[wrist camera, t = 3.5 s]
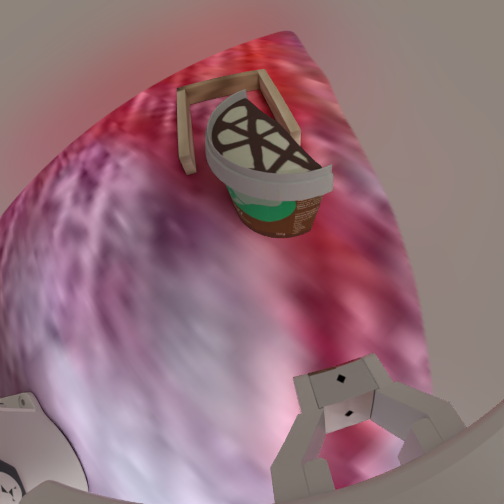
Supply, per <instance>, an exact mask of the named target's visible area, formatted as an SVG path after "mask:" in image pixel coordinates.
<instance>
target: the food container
mask: <svg viewBox="0 0 504 504" xmlns="http://www.w3.org/2000/svg"><path fill="white" fill-rule="evenodd" d="M205 147H206V158H207V162H208V164H209V166H210V168H211V170H212V172H213V173H214V174H215V175H216V176H217V177H218V179H219V180H221V181H222V182H223V183H225V184H226V186H227V189H228V191H229V193H230V196H231V198H232V201H233V203H234V206H235V208H236V210H237V213H238V215H239V217H240V219H241V220H242V221H243V222H244V224H245V225H246V226H248V227H249V228H250V229H251V230H253V231H255V232H256V233H259V234H261V235H264V236H268V237H273V238H289V237H295V236H298V235H301V234H304V233H306V232H308V231H310V230H311V227H312V225H313V222H314V219H315V216H316V214H317V211H318V208H319V205H320V203H321V200H322V197H323V195H324V194H326V193H328V192H330V191H333V174H332V173H331V170H332V165H329V166H326V167H324V168H322V167H321V166H320V165H319V164H318V163H317V162H315V161H314V160H313V159H312V158H311V157H310V156H309V155H308V154H307V153H306V152H305V151H304V150H303V149H302V148H301V147H300V146H299V144H298V143H297V142H296V141H295V140H294V139H293V138H292V136H291V135H290V134H289V133H288V132H287V131H286V130H285V129H284V128H283V127H282V126H281V125H280V124H279V123H278V122H276V121H275V120H273V119H272V118H270V117H269V116H267V115H266V114H264V113H263V112H262V111H261V110H259V109H258V108H257V107H256V106H255V105H253V104H252V103H251V102H250V101H249V100H248V99H247V94H246V89H244V90H242V91H239V92H237V93H235V94H233V95H231V96H230V97H228V98H227V99H225V100H224V101H223V102H221V103H220V104H219V105H218V106H217V107H216V109H215V110H214V111H213V113H212V114H211V116H210V118H209V121H208V125H207V128H206V133H205Z"/></svg>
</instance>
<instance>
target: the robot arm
mask: <svg viewBox="0 0 504 504" xmlns="http://www.w3.org/2000/svg"><path fill="white" fill-rule="evenodd" d="M293 380H294V385H295V390H296V395H297V400H298V405H299V409H300V413H301V414H298V415H297V417H296V419H295V422H294V424H293V426H292V428H291V430H290V432H289V434H288V436H287V438H286V440H285V442H284V444H283V445H282V447H281V449H280V451H279V453H278V455H277V457H276V459H275V460H274V462H273V464H272V466H271V468H270V469H271V476H272V484H273V492H274V499H275V503H274V504H504V399H503V400H502V401H501V402H500V403H499V404H497V405H496V406H495V407H494V408H493V409H491V410H490V411H489V412H488V413H486V414H485V415H484V416H483V417H481V418H480V419H479V420H477V421H476V422H474V423H473V424H472V425H470V426H469V427H466V426H465V424H464V423H463V421H462V420H461V418H460V417H459V415H458V414H457V412H456V411H455V409H454V408H453V406H452V405H451V404H450V402H447V401H445V400H442V399H439V398H437V397H434V396H432V395H429V394H427V393H424V392H422V391H419V390H417V389H415V388H412V387H410V386H407V385H405V384H403V383H400V382H398V381H397V382H393V381H392V379H391V378H390V376H389V375H388V373H387V371H386V370H385V368H384V367H383V365H382V364H381V362H380V360H379V359H378V357H377V356H376V354H374V353H371V354H368V355H366V356H363V357H360V358H357V359H354V360H351V361H348V362H345V363H342V364H339V365H336V366H334V367H331V368H327V369H323V370H319V371H315V372H312V373H308V374H304V375H300V376H296V377H293ZM369 419H371V420H372V421H373V422H375V423H376V424H378V425H379V426H381V427H382V428H384V429H386V430H387V431H389V432H390V433H392V434H394V435H395V436H397V437H398V438H400V439H402V440H403V441H405V442H404V445H403V447H402V449H401V451H400V453H399V455H398V456H397V457H398V459H399V461H400V463H401V466H399V467H397V468H395V469H392V470H390V471H388V472H385V473H383V474H381V475H378V476H376V477H373V478H370V479H368V480H365V481H362V482H359V483H356V484H354V485H351V486H347V487H344V488H341V489H338V490H335V487H334V484H333V480H332V477H331V474H330V470H329V467H328V463H327V460H325V459H322V458H319V459H317V458H318V456H319V453H320V450H321V448H322V445H323V442H324V439H325V436H326V434H327V433H330V432H333V431H336V430H339V429H342V428H345V427H347V426H351V425H354V424H357V423H360V422H363V421H366V420H369ZM0 504H142V503H136V502H130V501H125V500H119V499H115V498H110V497H106V496H102V495H98V494H94V493H90V492H88V486H87V481H86V478H85V475H84V472H83V470H82V467H81V465H80V463H79V460H78V458H77V456H76V455H75V453H74V451H73V449H72V448H71V446H70V444H69V443H68V441H67V440H66V438H65V437H64V435H63V434H62V433H61V432H60V430H59V429H58V428H57V427H56V426H55V425H54V423H53V422H52V421H51V420H50V419H49V418H48V417H47V416H46V415H45V414H44V412H43V411H42V409H41V407H40V405H39V403H38V401H37V399H36V397H35V396H34V394H33V393H31V392H24V393H20V394H16V395H12V396H8V397H3V398H0Z"/></svg>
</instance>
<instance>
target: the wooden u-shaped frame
mask: <svg viewBox="0 0 504 504" xmlns="http://www.w3.org/2000/svg"><path fill="white" fill-rule="evenodd" d="M244 89H246V92H247V91H252V90H258V89H260V90H261V91H262V93H263V95H264V97H265V99H266V101H267V103H268V105H269V107H270V109H271V111H272V113H273V115H274V117H275V120H276V122H278V123H279V124H280V125H281V126H282V127H283V128H284V129H285V130H286V131H287V132H288V133H289V134H290V135H291V136H292V138H293V139H294V140H295V141H296V142H297V143H298V144H299V146H300V141H301V130H300V128H299V126H298V124H297V122H296V121H295V119H294V117H293V115H292V113H291V112H290V110H289V108H288V107H287V105H286V103H285V101H284V100H283V98H282V96H281V95H280V93H279V91H278V90H277V88H276V86H275V85H274V83H273V82H272V80H271V78H270V77H269V75H268V74H267V72H266V70H265V69H261V70H255V71H249V72H243V73H238V74H233V75H228V76H223V77H219V78H214V79H210V80H206V81H202V82H198V83H194V84H191V85H187V86H183V87H180V88H177V122H178V148H179V159H180V161H181V163H182V166H183V168H184V170H185V172H186V175H189V174H193V173H196V172H197V170H196V162H195V153H194V144H193V134H192V124H191V114H190V105H191V104H195V103H198V102H202V101H206V100H210V99H214V98H218V97H223V96H227V95H232V94H235V93H237V92H239V91H242V90H244Z"/></svg>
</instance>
